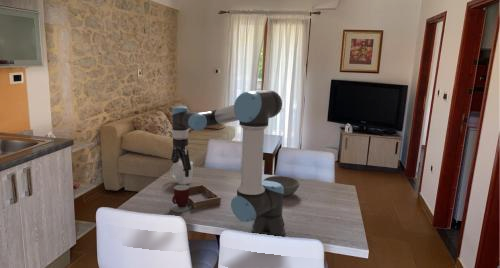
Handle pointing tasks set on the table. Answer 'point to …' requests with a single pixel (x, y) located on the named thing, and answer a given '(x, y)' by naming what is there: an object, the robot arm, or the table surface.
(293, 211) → the table surface
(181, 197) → the mug
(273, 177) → the bowl
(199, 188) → the caddy
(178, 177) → the mug
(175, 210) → the coaster
